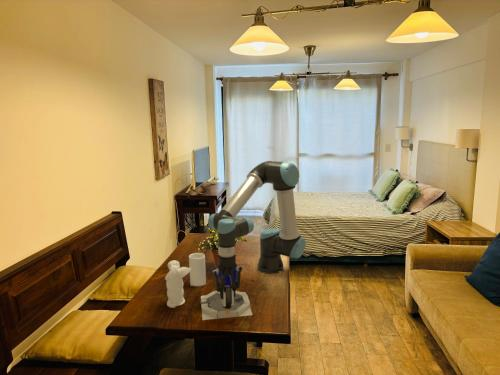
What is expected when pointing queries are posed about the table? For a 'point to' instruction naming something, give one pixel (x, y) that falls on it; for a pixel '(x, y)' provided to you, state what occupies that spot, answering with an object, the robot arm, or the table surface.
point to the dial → (216, 301)
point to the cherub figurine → (175, 283)
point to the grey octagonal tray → (214, 314)
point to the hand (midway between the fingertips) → (228, 304)
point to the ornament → (228, 278)
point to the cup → (197, 269)
